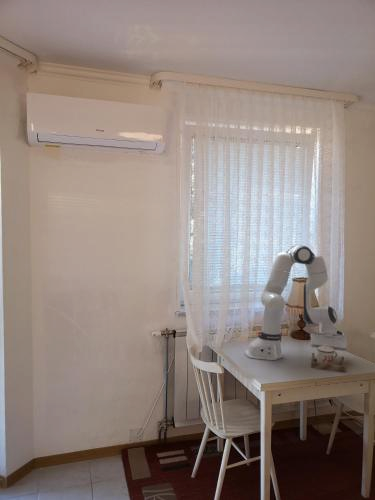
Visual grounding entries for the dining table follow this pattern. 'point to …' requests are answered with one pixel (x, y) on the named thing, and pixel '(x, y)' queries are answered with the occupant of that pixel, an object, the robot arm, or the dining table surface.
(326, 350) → the teacup with lid
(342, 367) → the walnut tea frame
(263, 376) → the dining table surface
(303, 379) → the dining table surface
